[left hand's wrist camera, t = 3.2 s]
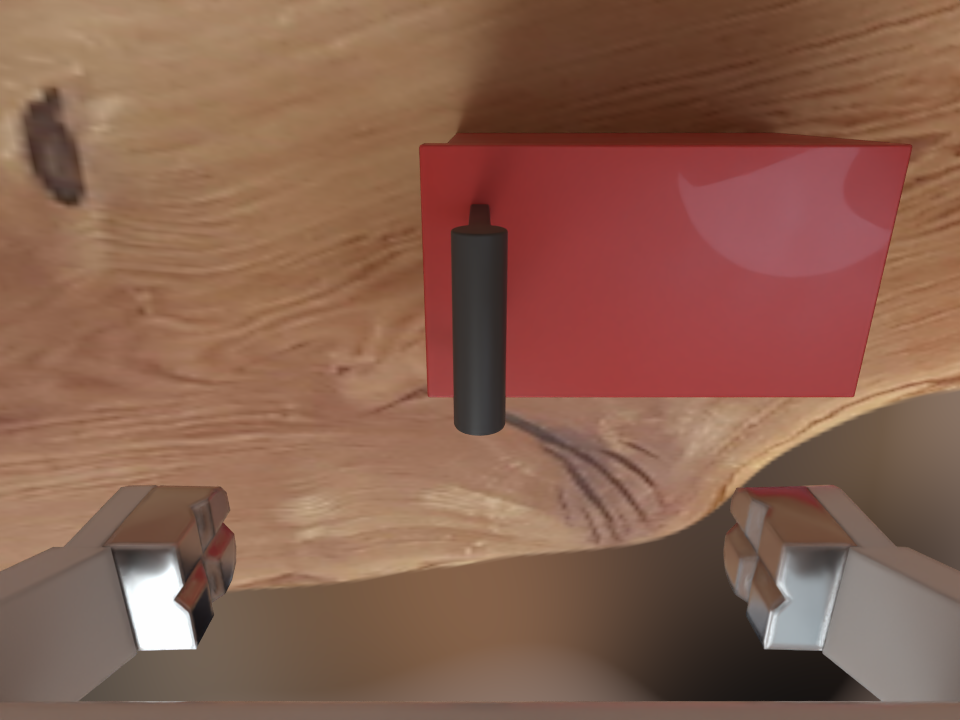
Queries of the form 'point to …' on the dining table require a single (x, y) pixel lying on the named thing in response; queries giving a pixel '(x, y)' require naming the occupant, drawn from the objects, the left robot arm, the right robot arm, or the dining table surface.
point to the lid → (651, 269)
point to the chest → (645, 138)
